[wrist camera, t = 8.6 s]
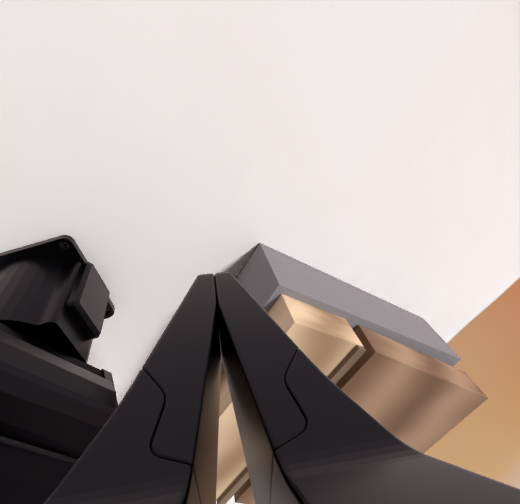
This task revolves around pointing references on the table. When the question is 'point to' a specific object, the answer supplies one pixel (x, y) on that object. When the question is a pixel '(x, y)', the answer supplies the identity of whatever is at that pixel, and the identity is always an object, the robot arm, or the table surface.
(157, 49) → the table surface
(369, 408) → the walnut plank
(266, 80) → the table surface
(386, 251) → the table surface
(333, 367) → the oak panel
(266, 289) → the underlay block
